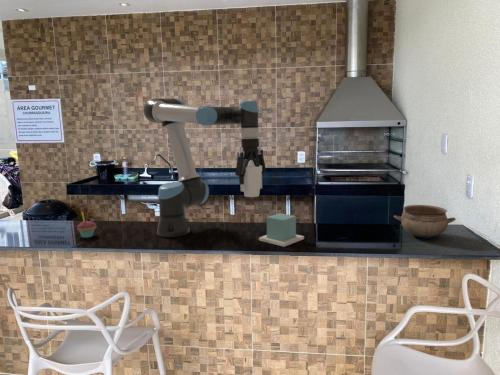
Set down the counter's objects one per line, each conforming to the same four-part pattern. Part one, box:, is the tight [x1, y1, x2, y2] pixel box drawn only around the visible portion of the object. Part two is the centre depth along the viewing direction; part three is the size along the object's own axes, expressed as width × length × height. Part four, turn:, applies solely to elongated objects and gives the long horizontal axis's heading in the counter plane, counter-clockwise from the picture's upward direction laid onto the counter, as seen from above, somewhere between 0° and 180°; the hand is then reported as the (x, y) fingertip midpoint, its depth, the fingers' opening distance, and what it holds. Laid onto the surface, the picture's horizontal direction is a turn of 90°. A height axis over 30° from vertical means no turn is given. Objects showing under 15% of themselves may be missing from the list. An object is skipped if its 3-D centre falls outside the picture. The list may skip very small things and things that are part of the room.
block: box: [266, 212, 297, 241], centre depth 176 cm, size 9×9×9 cm
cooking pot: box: [393, 204, 457, 240], centre depth 176 cm, size 25×19×12 cm
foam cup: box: [243, 164, 262, 198], centre depth 175 cm, size 10×9×13 cm
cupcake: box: [76, 212, 98, 239], centre depth 187 cm, size 9×8×12 cm
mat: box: [258, 234, 305, 248], centre depth 177 cm, size 14×14×1 cm
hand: (251, 189), depth 175 cm, fingers closed on foam cup, 9 cm apart
